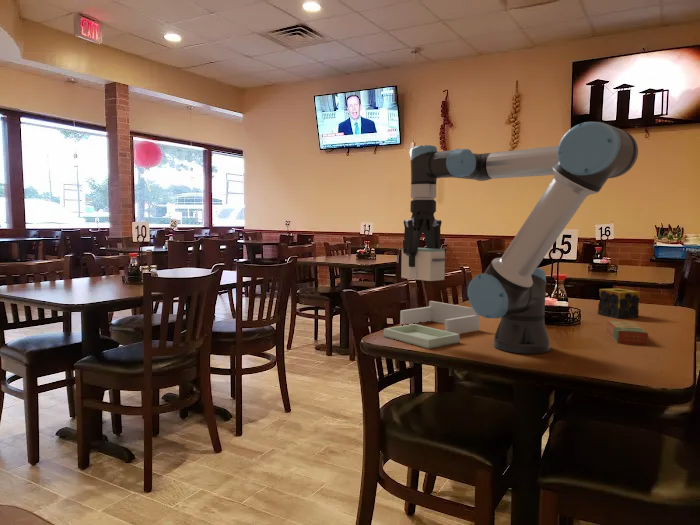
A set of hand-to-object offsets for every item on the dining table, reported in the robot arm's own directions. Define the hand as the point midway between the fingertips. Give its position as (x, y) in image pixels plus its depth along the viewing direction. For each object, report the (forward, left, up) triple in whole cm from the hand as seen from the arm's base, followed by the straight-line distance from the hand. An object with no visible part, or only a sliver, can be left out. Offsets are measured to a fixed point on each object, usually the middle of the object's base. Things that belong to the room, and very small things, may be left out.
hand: (422, 277), depth 156 cm
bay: (+9, -17, -19) cm, 27 cm away
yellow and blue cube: (-16, -90, -19) cm, 93 cm away
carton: (-36, -53, -19) cm, 67 cm away
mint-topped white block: (0, 0, 0) cm, 0 cm away
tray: (0, 0, -19) cm, 19 cm away
